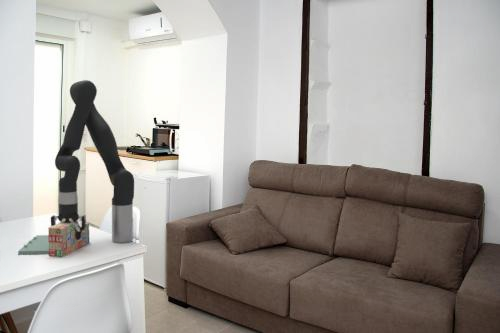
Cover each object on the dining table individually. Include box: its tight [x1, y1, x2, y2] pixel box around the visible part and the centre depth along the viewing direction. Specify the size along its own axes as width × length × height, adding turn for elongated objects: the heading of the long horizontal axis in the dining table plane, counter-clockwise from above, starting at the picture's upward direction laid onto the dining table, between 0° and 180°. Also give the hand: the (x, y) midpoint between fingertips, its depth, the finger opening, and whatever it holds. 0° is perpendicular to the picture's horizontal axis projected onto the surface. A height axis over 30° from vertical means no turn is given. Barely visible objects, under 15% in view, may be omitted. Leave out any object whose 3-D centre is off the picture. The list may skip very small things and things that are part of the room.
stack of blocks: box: [47, 220, 90, 258], centre depth 191 cm, size 21×6×12 cm, turn 171°
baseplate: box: [17, 234, 49, 256], centre depth 195 cm, size 12×24×2 cm, turn 9°
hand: (68, 239), depth 190 cm, fingers closed on stack of blocks, 7 cm apart
